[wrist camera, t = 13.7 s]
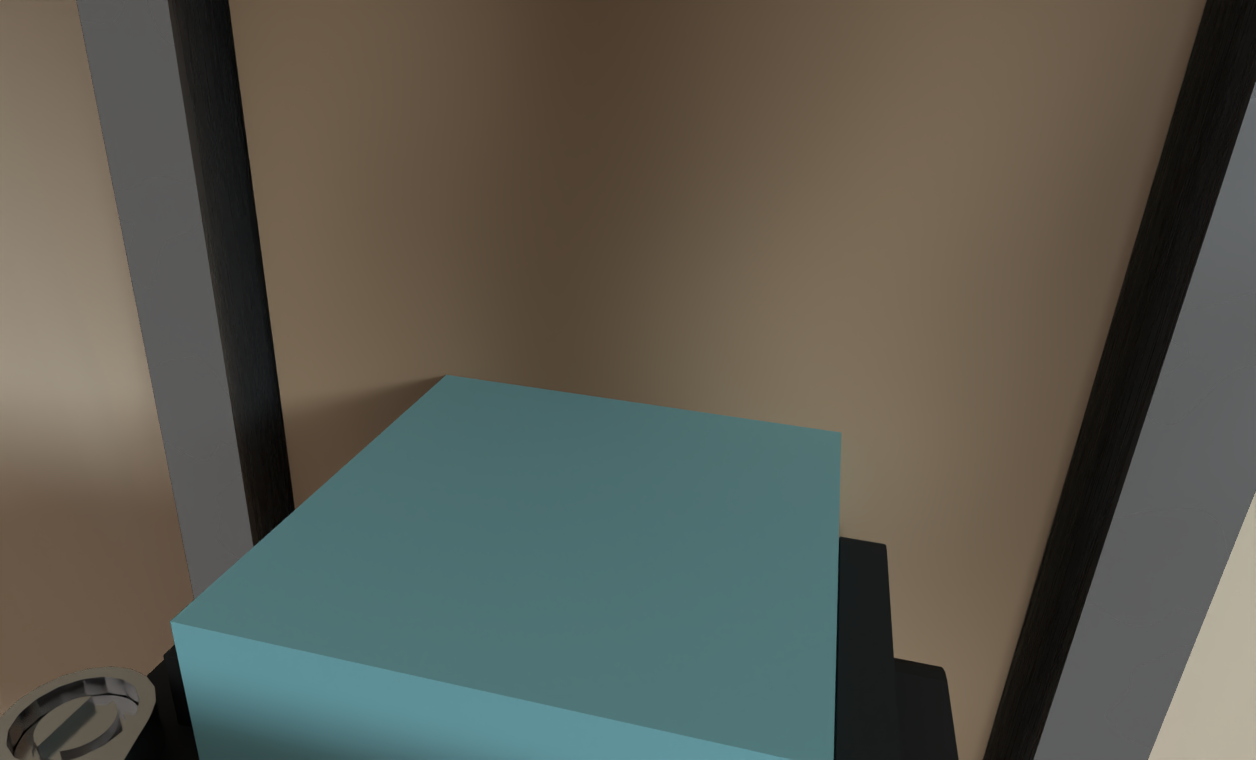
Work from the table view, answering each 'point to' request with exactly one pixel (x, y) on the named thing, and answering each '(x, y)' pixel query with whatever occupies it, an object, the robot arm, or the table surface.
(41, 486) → the table surface
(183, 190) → the guide rails
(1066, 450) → the tan track base
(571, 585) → the teal block
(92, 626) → the table surface
